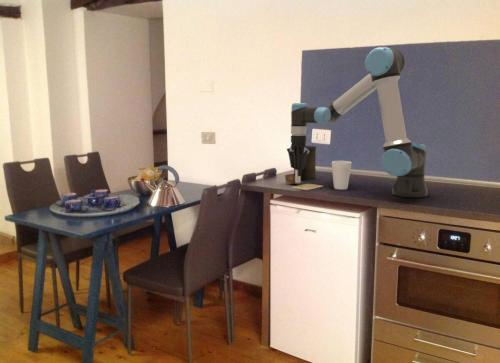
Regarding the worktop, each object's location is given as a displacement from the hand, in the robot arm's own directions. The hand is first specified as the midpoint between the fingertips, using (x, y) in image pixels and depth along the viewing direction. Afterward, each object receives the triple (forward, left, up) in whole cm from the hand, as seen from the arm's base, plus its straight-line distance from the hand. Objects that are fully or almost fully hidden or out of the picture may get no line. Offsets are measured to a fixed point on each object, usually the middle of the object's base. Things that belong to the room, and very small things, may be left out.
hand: (297, 182), depth 231 cm
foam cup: (-20, -8, -2) cm, 22 cm away
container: (+6, -16, -2) cm, 18 cm away
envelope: (-6, 0, -2) cm, 6 cm away
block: (+3, 0, -1) cm, 3 cm away
